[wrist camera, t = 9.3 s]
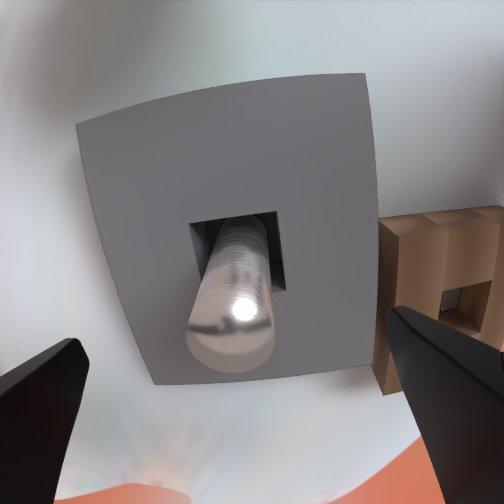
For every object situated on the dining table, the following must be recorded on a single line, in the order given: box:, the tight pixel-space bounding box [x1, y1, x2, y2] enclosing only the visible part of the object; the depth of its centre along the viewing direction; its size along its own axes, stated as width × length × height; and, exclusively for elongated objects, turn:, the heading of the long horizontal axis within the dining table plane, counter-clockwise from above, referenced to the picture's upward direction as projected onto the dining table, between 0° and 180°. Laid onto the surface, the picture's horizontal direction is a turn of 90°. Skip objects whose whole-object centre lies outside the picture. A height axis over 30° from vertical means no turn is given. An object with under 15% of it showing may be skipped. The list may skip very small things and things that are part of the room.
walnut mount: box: [371, 205, 504, 396], centre depth 16 cm, size 9×10×3 cm
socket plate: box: [76, 73, 378, 385], centre depth 15 cm, size 12×14×3 cm
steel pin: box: [185, 214, 275, 373], centre depth 12 cm, size 2×2×8 cm
